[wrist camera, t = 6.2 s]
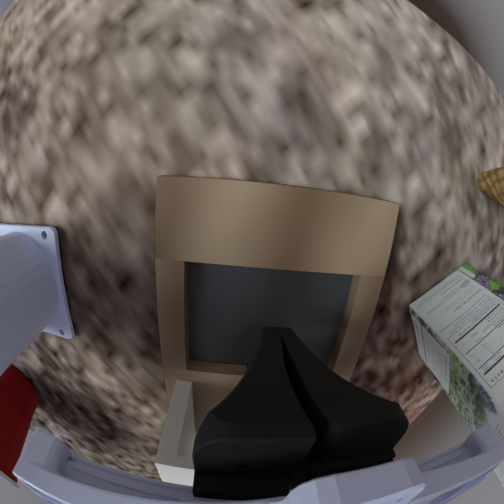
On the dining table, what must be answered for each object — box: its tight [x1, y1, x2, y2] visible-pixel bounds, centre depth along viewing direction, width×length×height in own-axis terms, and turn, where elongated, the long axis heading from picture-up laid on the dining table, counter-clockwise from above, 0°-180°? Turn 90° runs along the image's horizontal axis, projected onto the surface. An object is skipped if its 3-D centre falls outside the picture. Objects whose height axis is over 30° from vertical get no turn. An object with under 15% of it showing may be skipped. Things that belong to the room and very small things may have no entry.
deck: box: [155, 175, 400, 453], centre depth 16 cm, size 12×27×1 cm, turn 174°
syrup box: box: [408, 264, 504, 488], centre depth 9 cm, size 6×6×14 cm
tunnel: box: [155, 380, 195, 486], centre depth 13 cm, size 10×6×6 cm, turn 84°
